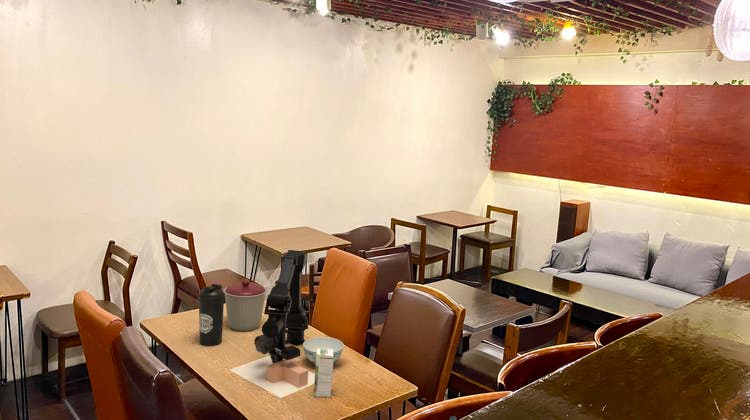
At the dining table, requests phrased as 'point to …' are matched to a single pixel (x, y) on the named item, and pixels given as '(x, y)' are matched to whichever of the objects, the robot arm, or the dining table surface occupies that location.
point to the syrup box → (323, 373)
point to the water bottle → (211, 315)
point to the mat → (258, 376)
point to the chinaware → (322, 347)
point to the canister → (244, 305)
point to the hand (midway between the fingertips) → (276, 369)
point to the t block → (288, 372)
